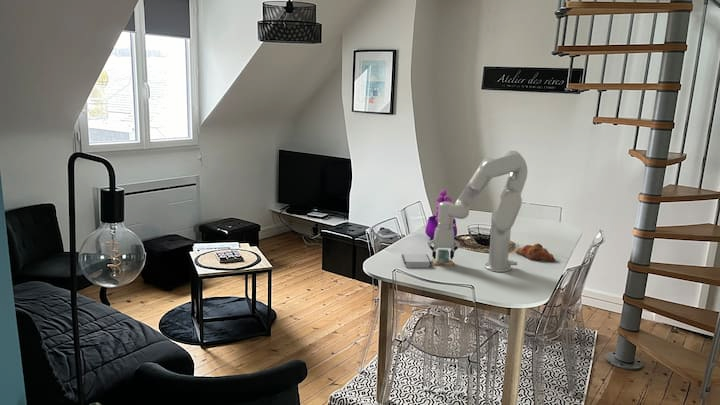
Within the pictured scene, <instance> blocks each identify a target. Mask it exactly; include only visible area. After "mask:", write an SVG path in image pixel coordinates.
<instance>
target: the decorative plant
mask: <svg viewBox="0 0 720 405" xmlns="http://www.w3.org/2000/svg"><path fill="white" fill-rule="evenodd" d="M439 194H440V196H437V197H436V201H437V202H438V203H440V202H451V203H453V199H452V198H451V197H450V196H447V195H448V192H447V190H445V189H442V190H441V191H440V192H439ZM438 211H439V204H437V206H436V209H435V214H436V215H431V216H429V217H428V218H427V223H426V226H425V232H424V233H425V234H426V236H427V237H428V238H430V239H431V240H433V239H434V234H435V229H436V227H438ZM453 224H455V226H454V227H453V229H454V238H456V236H457V235H458V228H457V221H456V218H453Z"/></svg>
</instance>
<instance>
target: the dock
mask: <svg viewBox="0 0 720 405" xmlns="http://www.w3.org/2000/svg"><path fill="white" fill-rule="evenodd" d="M401 258H402V261H403V264H404V266H405V268H430V265H432V261H431V259H430V258H429V255H428V254H427V253H426V254H425V253H403V254H402V253H401Z"/></svg>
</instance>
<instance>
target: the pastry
mask: <svg viewBox="0 0 720 405" xmlns="http://www.w3.org/2000/svg"><path fill="white" fill-rule="evenodd" d="M515 254H517V255H519V256H521V257H523V258H526V259H528V260H531V261H537V262H538V261H539V262H541V261H542V262H548V263H554V262H555V261H556V259H555V257H554V255H553V254H552V253H550V252H549V251H548V249H547V248H544V247H543V245H542V244H540V243H535V244H534V245H530V244H527V245H525V246H523V247H518V248H517V249H516V251H515Z"/></svg>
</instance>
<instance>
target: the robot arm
mask: <svg viewBox="0 0 720 405" xmlns="http://www.w3.org/2000/svg"><path fill="white" fill-rule="evenodd" d="M504 175H507V178H506V179H507V180H506V182H505V185H504V187H503V189H502V191H501V194H500V198H499V199H500V203H499V206H498V207H496V208H495V209H494V210H493V212H492V214H491V220H490V222H491V223H490V224H491V225H490V239H489V249H488V250H489V251H488V261H487V262H486V263H484V267H485V269H487V270H488V271H492V272H496V273H505V272H509V271H510V270H511V266H517V265H518V261H514V260H510V259H509V251H510V242H511V231H512V230H511V229H512V227H513V226H514V223H515V221H516V220H517V216H518V214H519V212H520V210H521V207H522V204H523V203H522V202H523V198H522V193H523V190H524V186H525V184H526V182H527V178H528V165H527V162H526V159H525V158H524V157H523V155H522V154H521V153H520V152H518V151H517V150H509V151H508V152H506V153H505V154H504V156H501V157H497V158H493V157H487V158H484V159H483V160H482V161H481V162H480V163H479V166H478V167H477V169H476V170H475V172H474V174H473V175H472V176H471V178H470V180H469V181H468V183H467V184H466V185H465V188H464V189H463V191H462V192H461V193H460V195H459V196H458V197H457V200H456V201H455V203H453V202H452V203H451V202H438V203H439V204H438V205H439V211H438V227H436V229H435V234H434V239H431V240H429V241H427V245H428V247H429V248H430V250H431V251H432V254H431V255H432V256H431V257H433V258H432V259H437V250H438V249H450V251H449V259H451V260H453V258H455V252H456V251H457V250H458V249H459V247H460V246H461V243H460V242H458V241H457V240H456V239H455V237H454V229H453V227H454V226H455V224H453V218H454V219H458V220H465V219H466V218H467V217H468V216H469V215H470V207H471V206H472V204H474V203H473V202H474V201H475V200H476V199H477V197H479V195H481V194H482V193H484V191H485V190H486V189H487V187H488V185H489V184H490V182H491V181H492V179H494V178H497V177H501V176H504ZM432 244H433V246H432Z"/></svg>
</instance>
